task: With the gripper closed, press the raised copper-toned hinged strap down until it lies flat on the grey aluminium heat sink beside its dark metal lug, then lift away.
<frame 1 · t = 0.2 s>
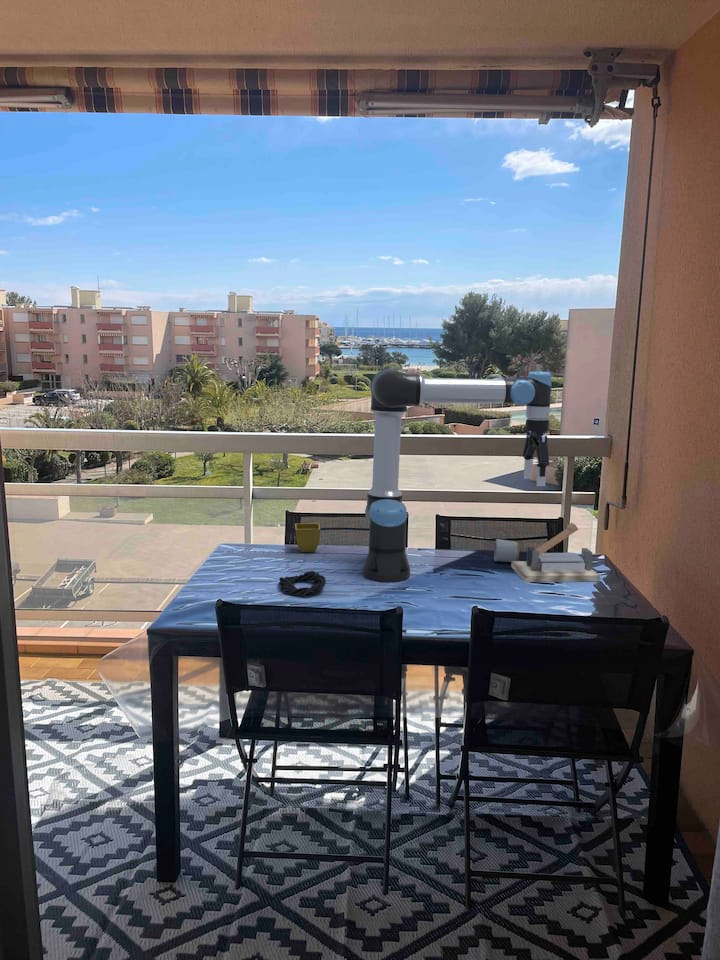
hand: (534, 482, 251), 28 cm above the table, tool pointing down, fingers open, 13 cm apart
flower pot: (307, 551, 267), on the table
ceramic mug: (504, 560, 260), on the table
strap: (553, 540, 243), point 11 cm above the table, hinge at 35.0°
board: (554, 574, 245), on the table
heat sink: (559, 558, 244), on the board, point 5 cm above the table
cable: (302, 590, 225), on the table
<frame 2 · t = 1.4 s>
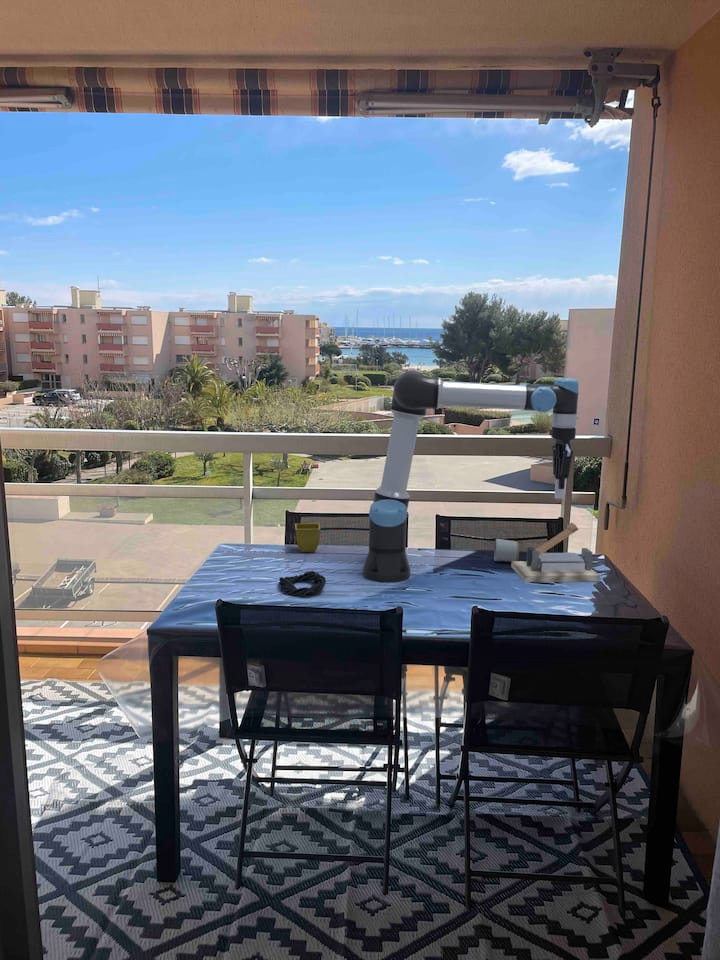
hand: (559, 498, 246), 24 cm above the table, tool pointing down, fingers closed
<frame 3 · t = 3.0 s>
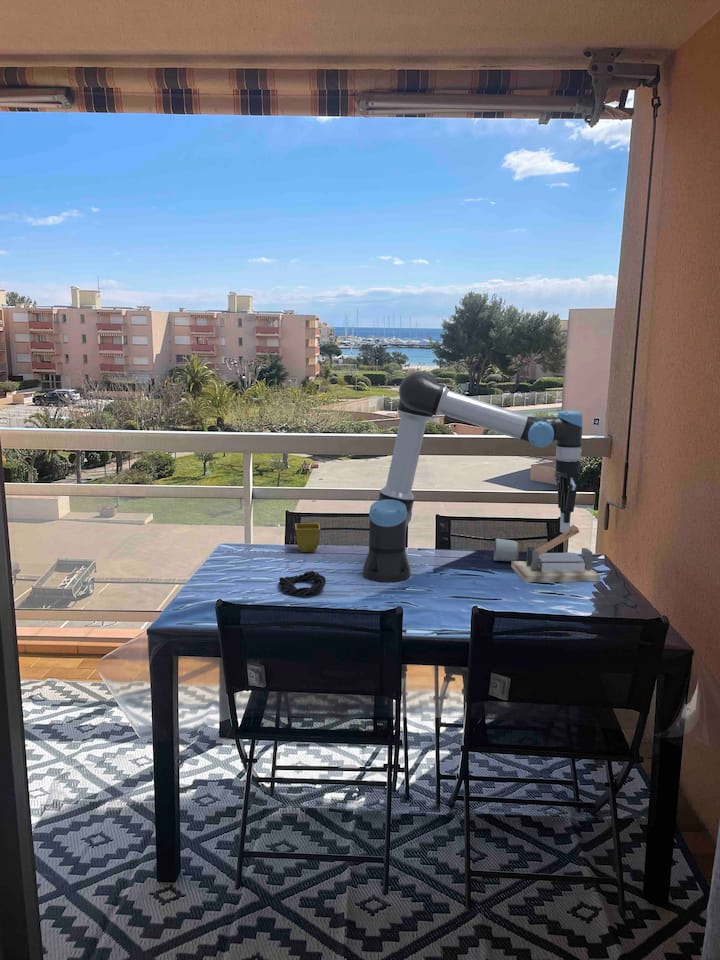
hand: (564, 531, 242), 14 cm above the table, tool pointing down, fingers closed
strap: (554, 541, 243), point 11 cm above the table, hinge at 31.8°, touching gripper
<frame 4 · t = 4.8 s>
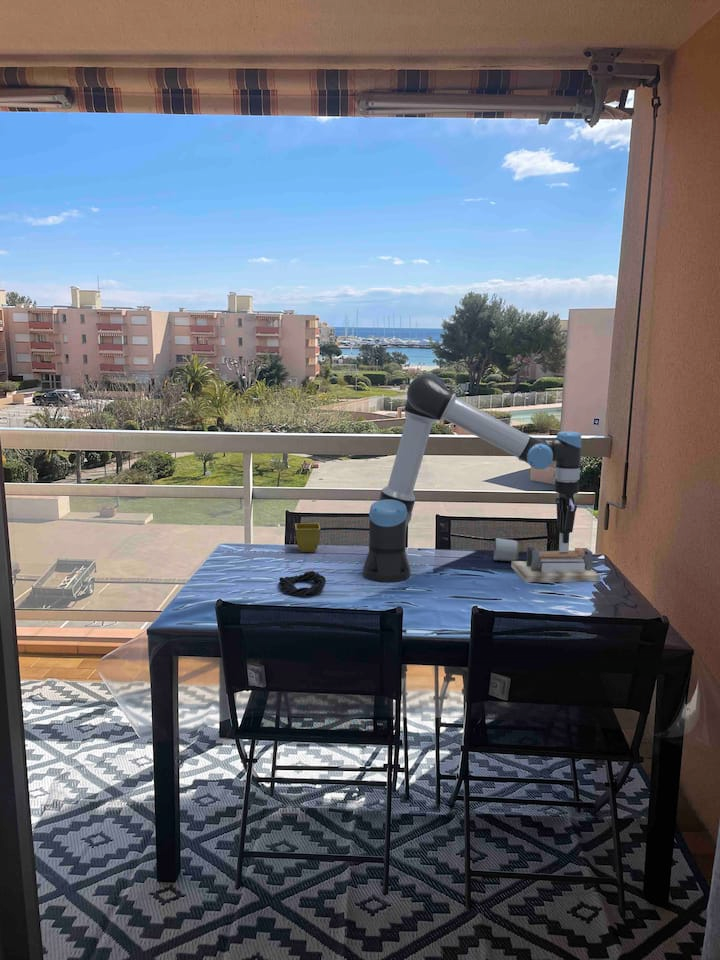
hand: (563, 551, 243), 8 cm above the table, tool pointing down, fingers closed
strap: (557, 553, 243), point 7 cm above the table, hinge at 1.5°, touching gripper
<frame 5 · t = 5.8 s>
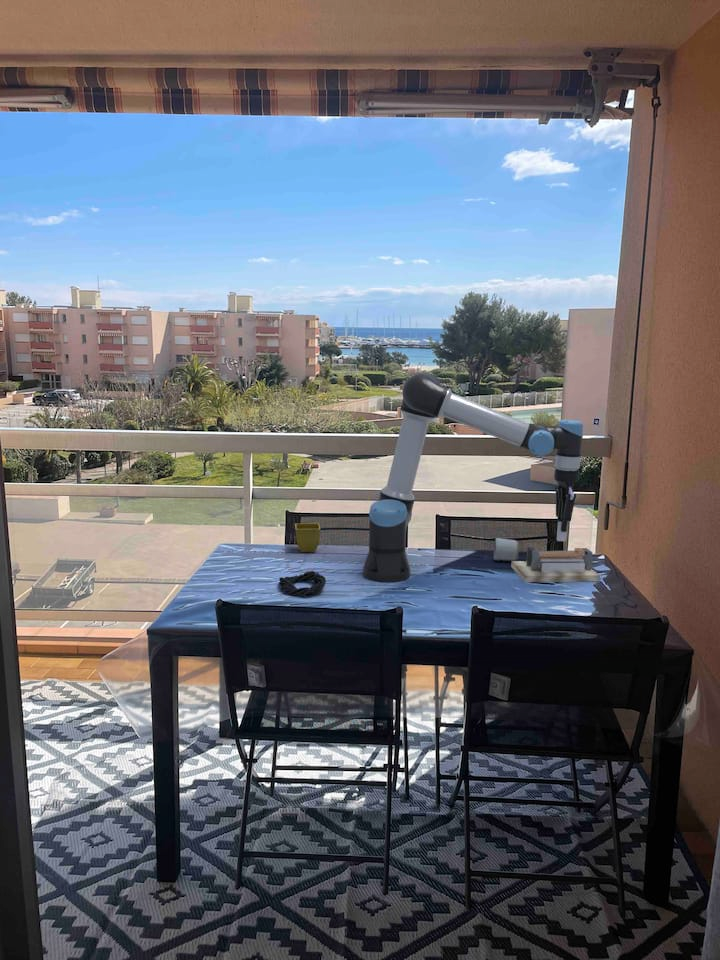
hand: (561, 540, 243), 11 cm above the table, tool pointing down, fingers closed
strap: (557, 553, 243), point 7 cm above the table, hinge at 1.4°
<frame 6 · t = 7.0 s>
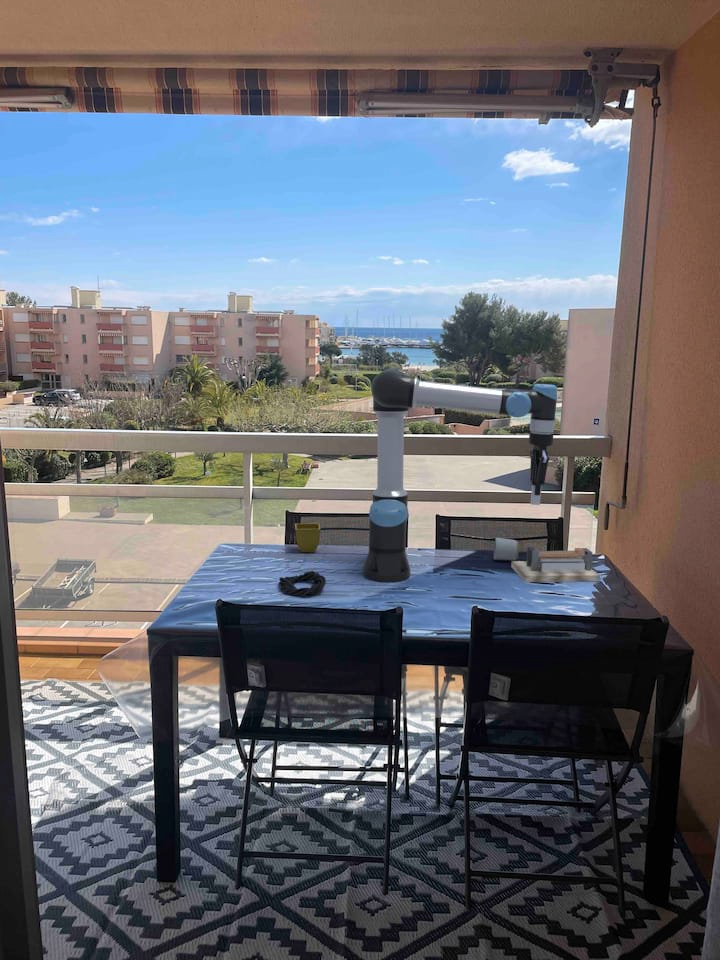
hand: (535, 504, 245), 22 cm above the table, tool pointing down, fingers closed
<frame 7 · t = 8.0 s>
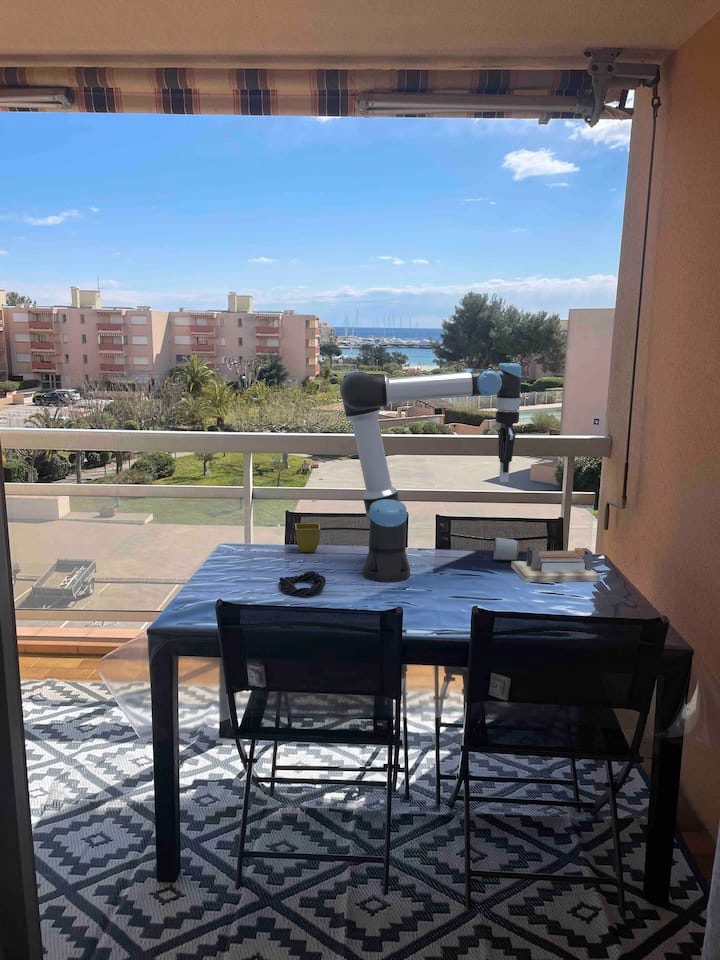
hand: (503, 481, 250), 28 cm above the table, tool pointing down, fingers closed
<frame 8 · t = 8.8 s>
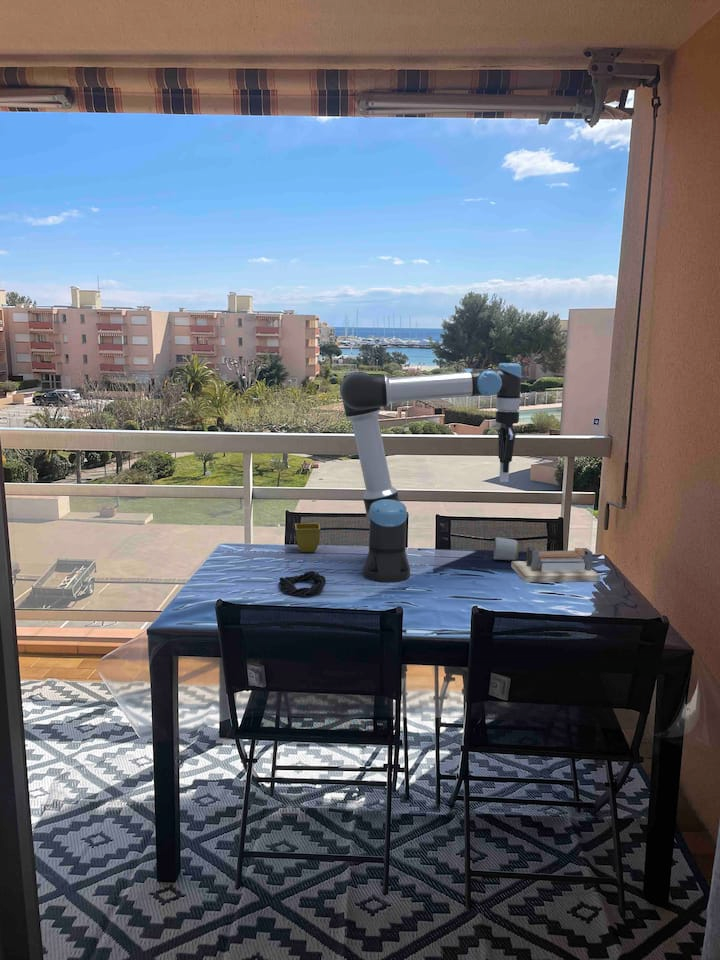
hand: (503, 481, 250), 28 cm above the table, tool pointing down, fingers closed
at the end: strap at +1° (first picture: +35°); ceramic mug moved 2.4 cm from its start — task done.
